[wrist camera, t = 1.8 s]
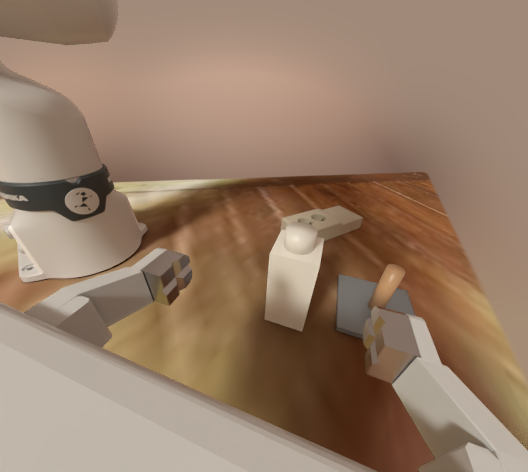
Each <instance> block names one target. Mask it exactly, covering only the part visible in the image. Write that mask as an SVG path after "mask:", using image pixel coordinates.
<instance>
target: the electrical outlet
mask: <svg viewBox="0 0 528 472" xmlns="http://www.w3.org/2000/svg"><path fill="white" fill-rule="evenodd" d="M362 220H363V217H361V216H359V215H357V214H355V213H353V212H351V211H349V210H347V209H345V208H343V207H341V206H335V207H331V208H328V209H324V210H321V209H314V210H310V211H307V212H303V213H299V214H295V215H291V216H287V217H284V218H282V222H281V230H286V226H287V225H288V224H290V223H293V222H304V223H308V224H310V225H312V226H314V227H315V228H316V229H317V236H316V237H320V238H324V241H326V240H329V239H331V238H334V237H337V236H340V235H342V234H345V233H348V232H350V231H353V230H356V229H359V228H360V226H361V223H362ZM280 232H281V231H280Z"/></svg>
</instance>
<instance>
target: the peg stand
mask: <svg viewBox="0 0 528 472" xmlns="http://www.w3.org/2000/svg"><path fill="white" fill-rule="evenodd" d="M405 273H406V272H405V270H404V269H403V268H402V267H400V266H398V265H395V264H388V265H387V267H386V269H385V271H384V273H383V275H382V277H381V279H380V280H379V282H378V283H374V282H370V281H366V280H362V279H358V278H354V277H350V276H346V275H342V274H339V275H338V282H337V306H336V329H335V330H336V331H339V332H342V333H345V334H348V335H352V336H355V337H358V338H361V339H363V330H364V326H365V323H366V321H367V319H370V318H372V316H371V311H372V309H373V308H374V307H375V306H378V307H382V308H386V309H390V310H394V311H397V312H401V313H404V314H409V315H413V316H415V314H414V311H413V308H412V305H411V302H410V299H409V296H408V293H407V291H406V290H402V289H398V288H397V287H398V285H399V284H400V282H401V280H402V279H403V277H404V275H405Z"/></svg>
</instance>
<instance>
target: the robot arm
mask: <svg viewBox="0 0 528 472" xmlns="http://www.w3.org/2000/svg"><path fill="white" fill-rule="evenodd" d="M117 19H118V1H117V0H0V36H1V37H9V38H16V39H24V40H31V41H39V42H47V43H54V44H62V45H78V44H91V43H100V42H108V41H109V40H110V38H111V37H112V35H113V33H114V31H115V28H116V25H117ZM0 195H1V196H2V197H4V199H5V200H6V202H7V203H8V205H9V206H10V207H12V208H13V216H12V218H11V220H10V224H6V225H4V226H2V227H3V229H4V231H5V233H6V234H7V235H8V237H9V238H10V239H14V238H15V239H16V241H17V245H18V264H19V276H20V278H21V280H22V281H23V282H32V281H38V280H43V279H48V278H75V277H82V276H87V275H91V274H94V273H98V272H101V271H103V270H106V269H109V268H111V267H113V266H115V265H117V264H119V263H121V262H123V261H124V260H126V259H127V258H129V257H130V256H131V255H132V254H133V253H134V252H135V251H136V250H137V249H138V248H139V246H140V244H141V239H142V236H143V235H144V234H145V233H146V231H147V230H148V228H147V226H146V225H145V224H143V223H140V222H137V219H136V217H135V214H134V212H133V210H132V207H131V205H130V203H129V201H128V198H127V197H126V195H125V194H122V193H120V192H118V191H116V190H114V185H113V182H112V177H111V175H110V173H109V172H108V169H107V167H106V166H105V165H104V164H102V162H101V160H100V157H99V155H98V152H97V149H96V147H95V144H94V141H93V139H92V136H91V134H90V131H89V128H88V126H87V123H86V121H85V118H84V116H83V114H82V112H81V111H80V110H79V109H78V107H77V106H76V105H75V104H74V103H73V102H72V101H71V100H69V99H68V98H67V97H65V96H64V95H62V94H60V93H59V92H57V91H55V90H53V89H51V88H49V87H47V86H45V85H43V84H40V83H38V82H36V81H34V80H31V79H29V78H26V77H24V76H22V75H19V74H17V73H15V72H13V71H11V70H9V69H8V68H7V67H6V66H5V65H4V64H3V63H2V62H1V61H0ZM189 263H190V260H189V256H187V255H184V254H181V253H177V252H174V251H171V250H167V249H163V248H156V249H155V250H154V251H152V252H151V253H150V254H148V255H147V256H146V257H144V258H143V259H141V260H140V261H139V262H137V263H136V264H135V265H133V266H132V267H131V268H129V267H126V268H123V269H120V270H117V271H114V272H110V273H107V274H104V275H101V276H98V277H95V278H91V279H88V280H85V281H82V282H79V283H76V284H72V285H69V286H66V287H63V288H62V289H60V290H58V291H57V292H55V293H54V294H52V295H51V296H49V297H47V298H46V299H44V300H43V301H41V302H40V303H38V304H36V305H35V306H33V307H32V308H30V309H29V310H27V311H26V312H24V313H23V312H21V311H19V310H16V309H14V308H12V307H10V306H7V305H5V304H3V303H1V302H0V472H378V471H376V470H373V469H371V468H369V467H367V466H365V465H362V464H360V463H358V462H356V461H353V460H351V459H349V458H347V457H344V456H342V455H340V454H338V453H336V452H333V451H331V450H329V449H327V448H324V447H322V446H320V445H318V444H315V443H313V442H311V441H309V440H306V439H304V438H302V437H300V436H298V435H295V434H293V433H291V432H289V431H286V430H284V429H282V428H280V427H277V426H275V425H273V424H271V423H269V422H266V421H264V420H262V419H260V418H257V417H255V416H253V415H251V414H248V413H246V412H244V411H242V410H240V409H237V408H235V407H233V406H231V405H228V404H226V403H224V402H222V401H219V400H217V399H215V398H213V397H211V396H208V395H206V394H204V393H202V392H199V391H197V390H195V389H193V388H190V387H188V386H186V385H184V384H182V383H179V382H177V381H175V380H173V379H170V378H168V377H166V376H164V375H161V374H159V373H157V372H155V371H153V370H150V369H148V368H146V367H144V366H141V365H139V364H137V363H135V362H132V361H130V360H128V359H126V358H124V357H121V356H119V355H117V354H115V353H112V352H110V351H108V350H106V349H103V348H102V347H103V346H104V345H105V344H106V343H107V342H108V341H109V340H110V339H111V337H112V334H111V332H110V331H109V329H108V328H107V327H109V326H110V325H112V324H114V323H116V322H118V321H120V320H121V319H123V318H125V317H127V316H129V315H131V314H133V313H134V312H136V311H138V310H140V309H142V308H144V307H145V306H147V305H149V304H151V303H153V302H154V301H155V302H159V303H162V304H165V305H168V306H170V305H171V304H172V303H173V301H174V300H175V299H176V298H177V297H178V296H179V291H180V290H182V289H184V288H186V287H187V285H188V284H189V283H190V280H191V278H192V269H191V268H190V267H189V265H188V264H189ZM371 316H372V318H370V319H367V321H366V323H365V326H364V330H363V344H364V345H365V347H366V348H367V352H366V353H365V355H364V357H365V368H366V374H367V375H370V376H373V377H375V378H378V379H381V380H383V381H386V382H389V383H391V384H392V386H393V388H394V389H395V391H396V393H397V395H398V396H399V398H400V400H401V401H402V403H403V405H404V407H405V408H406V410H407V412H408V413H409V415H410V417H411V418H412V420H413V422H414V424H415V425H416V427H417V429H418V430H419V432H420V434H421V436H422V437H423V439H424V441H425V442H426V444H427V446H428V448H429V449H430V451H431V453H432V454H433V456H434V458H435V459H433V460H431V461H429V462H427V463H425V464H423V465H421V466H420V467H419V468H418V471H419V472H528V451H527V450H526V448H525V447H524V446H523V445H522V444H521V443H520V442H519V441H518V440H517V439H516V438H515V437H514V436H513V435H512V434H511V433H510V432H509V431H508V430H507V428H506V427H505V426H504V425H503V424H502V423H501V422H500V421H499V420H498V419H497V418H496V417H495V416H494V415H493V414H492V413H491V412H490V411H489V410H488V409H487V407H486V406H485V405H484V404H483V403H482V402H481V401H480V400H479V399H478V398H477V397H476V396H475V395H474V394H473V393H472V392H471V391H470V390H469V389H468V387H467V386H466V385H465V384H464V383H463V382H462V381H461V380H460V379H459V378H458V377H457V376H456V375H455V374H454V373H453V372H452V371H451V370H450V369H449V367H448V366H445V365H442V363H441V361H440V358H439V356H438V353H437V351H436V348H435V345H434V343H433V340H432V338H431V335H430V333H429V330H428V328H427V325H426V323H425V320H424V319H423V318H421V317H417V316H413V315H409V314H404V313H401V312H397V311H394V310H390V309H386V308H382V307H378V306H375V307H374V308H373V309H372V311H371Z"/></svg>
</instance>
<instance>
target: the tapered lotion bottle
mask: <svg viewBox="0 0 528 472" xmlns="http://www.w3.org/2000/svg"><path fill="white" fill-rule="evenodd" d="M316 236H317V229H316V228H315V227H314V226H312V225H310V224H308V223H304V222H293V223H290V224H288V225H287V226H286V230H281V232H280V234H279V236H278V238H277V240H276V242H275V244H274V246H273V248H272V250H271V252H270V257H269V269H268V281H267V293H266V305H265V317H264V319H265V320H268V321H271V322H274V323H277V324H280V325H283V326H286V327H289V328H292V329H295V330H298V331H301V332H302V331H303V327H304V323H305V320H306V316H307V312H308V308H309V305H310V301H311V297H312V293H313V290H314V286H315V282H316V279H317V275H318V271H319V267H320V262H321V256H322V249H323V243H324V238H320V237H316Z"/></svg>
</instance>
